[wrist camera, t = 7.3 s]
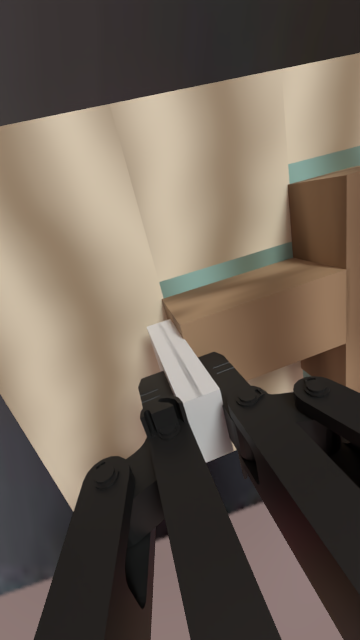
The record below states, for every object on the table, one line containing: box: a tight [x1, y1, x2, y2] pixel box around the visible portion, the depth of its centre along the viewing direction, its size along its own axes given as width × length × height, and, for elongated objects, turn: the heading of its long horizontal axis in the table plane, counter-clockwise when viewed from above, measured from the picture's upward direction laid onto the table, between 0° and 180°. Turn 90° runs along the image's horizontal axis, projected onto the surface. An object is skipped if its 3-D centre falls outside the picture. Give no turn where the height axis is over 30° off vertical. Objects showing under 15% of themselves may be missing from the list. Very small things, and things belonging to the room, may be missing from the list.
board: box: [0, 53, 360, 512], centre depth 17 cm, size 28×22×1 cm
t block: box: [162, 166, 360, 393], centre depth 15 cm, size 12×12×4 cm
